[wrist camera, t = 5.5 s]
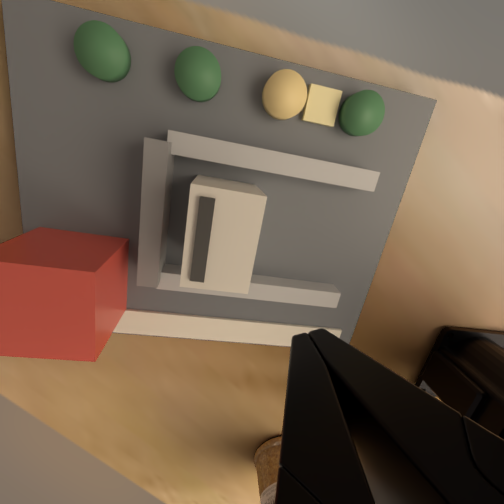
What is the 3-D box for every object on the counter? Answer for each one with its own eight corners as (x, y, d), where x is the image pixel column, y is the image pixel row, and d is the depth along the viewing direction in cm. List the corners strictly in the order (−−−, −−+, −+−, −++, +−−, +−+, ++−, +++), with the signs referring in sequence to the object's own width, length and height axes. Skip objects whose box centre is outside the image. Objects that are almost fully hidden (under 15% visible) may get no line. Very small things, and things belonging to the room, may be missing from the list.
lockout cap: (129, 238, 15) (95, 272, 11) (126, 308, 16) (95, 361, 12) (39, 226, 14) (-34, 258, 10) (44, 301, 16) (-18, 354, 12)
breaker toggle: (255, 184, 15) (268, 197, 11) (241, 260, 16) (248, 295, 12) (198, 174, 14) (190, 183, 10) (189, 253, 16) (178, 288, 12)
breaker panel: (421, 103, 15) (469, 92, 12) (339, 340, 21) (360, 373, 18) (20, 2, 12) (-45, -47, 9) (44, 314, 17) (7, 349, 14)
